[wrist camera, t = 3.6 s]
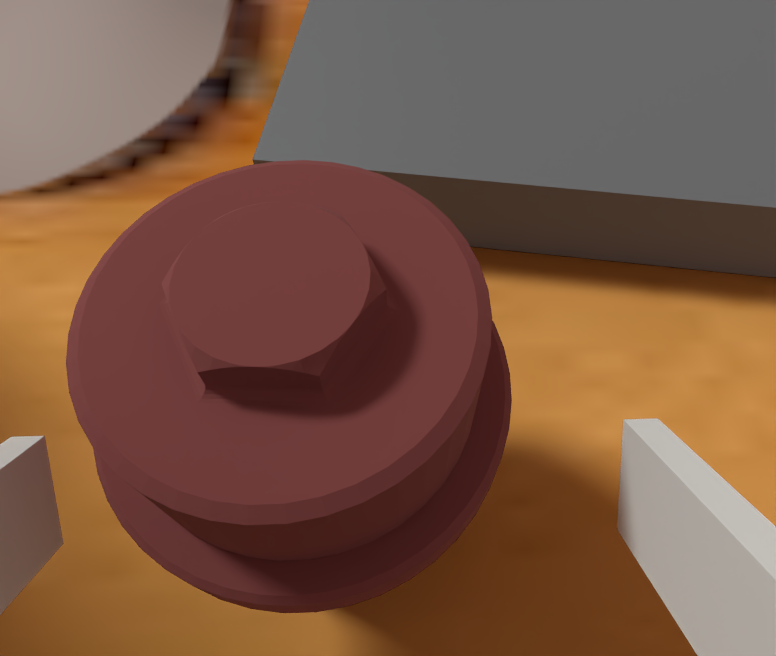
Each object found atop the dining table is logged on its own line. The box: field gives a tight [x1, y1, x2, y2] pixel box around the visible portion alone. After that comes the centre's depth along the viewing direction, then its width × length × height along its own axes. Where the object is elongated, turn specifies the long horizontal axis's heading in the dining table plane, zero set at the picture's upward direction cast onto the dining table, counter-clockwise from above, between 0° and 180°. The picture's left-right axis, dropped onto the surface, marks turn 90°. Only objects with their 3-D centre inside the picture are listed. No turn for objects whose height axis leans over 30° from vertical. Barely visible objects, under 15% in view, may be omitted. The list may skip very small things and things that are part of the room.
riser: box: [253, 0, 776, 278], centre depth 30 cm, size 22×18×4 cm
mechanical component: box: [66, 160, 512, 613], centre depth 17 cm, size 12×10×10 cm
